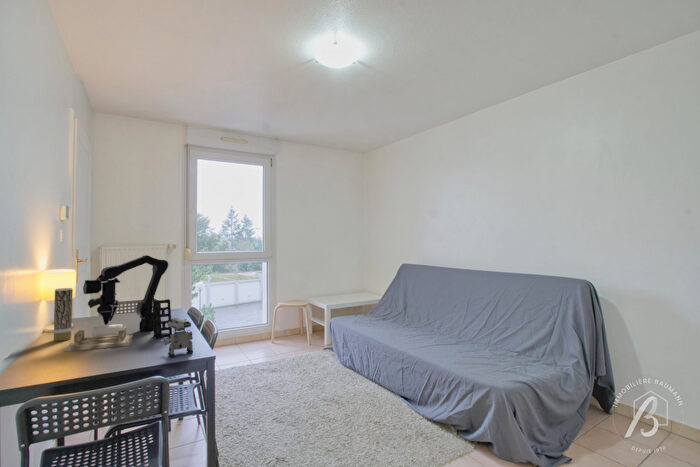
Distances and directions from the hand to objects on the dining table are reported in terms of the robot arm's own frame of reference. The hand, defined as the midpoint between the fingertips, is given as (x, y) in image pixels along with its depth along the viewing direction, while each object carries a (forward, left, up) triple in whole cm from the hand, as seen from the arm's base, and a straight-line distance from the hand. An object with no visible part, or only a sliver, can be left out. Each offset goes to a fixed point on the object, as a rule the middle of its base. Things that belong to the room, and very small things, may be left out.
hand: (108, 322), depth 181 cm
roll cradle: (0, +14, -7) cm, 16 cm away
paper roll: (0, 0, -7) cm, 7 cm away
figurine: (-34, +43, -7) cm, 55 cm away
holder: (-25, +11, -7) cm, 28 cm away
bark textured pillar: (+19, -2, -7) cm, 21 cm away
